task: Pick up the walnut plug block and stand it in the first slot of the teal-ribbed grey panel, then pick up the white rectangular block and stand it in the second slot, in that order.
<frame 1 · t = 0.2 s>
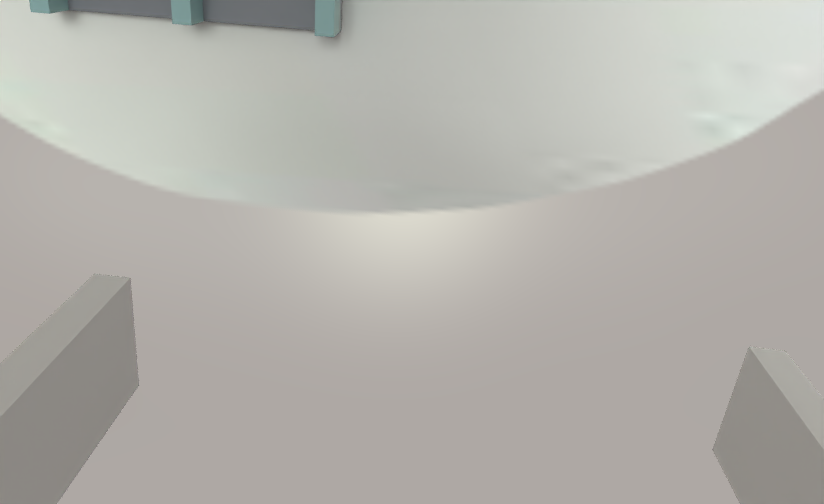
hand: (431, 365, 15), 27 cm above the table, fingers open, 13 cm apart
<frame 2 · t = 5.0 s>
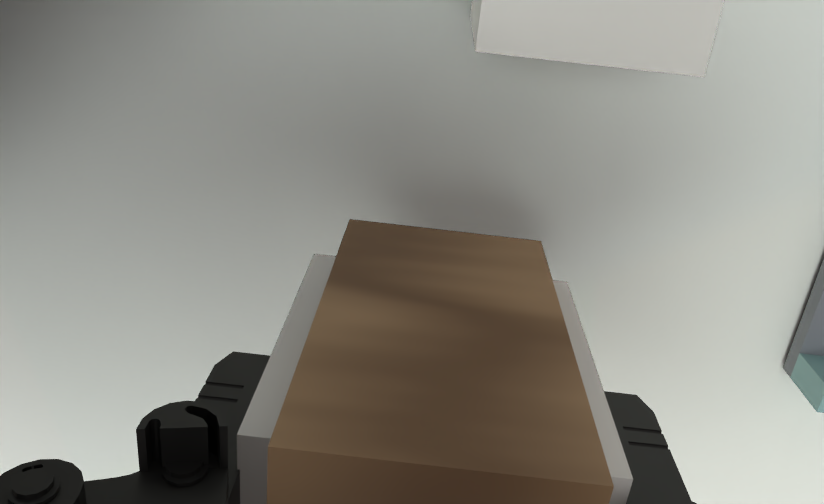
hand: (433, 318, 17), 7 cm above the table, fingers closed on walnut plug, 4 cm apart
walnut plug: (434, 313, 17), point 7 cm above the table, touching gripper
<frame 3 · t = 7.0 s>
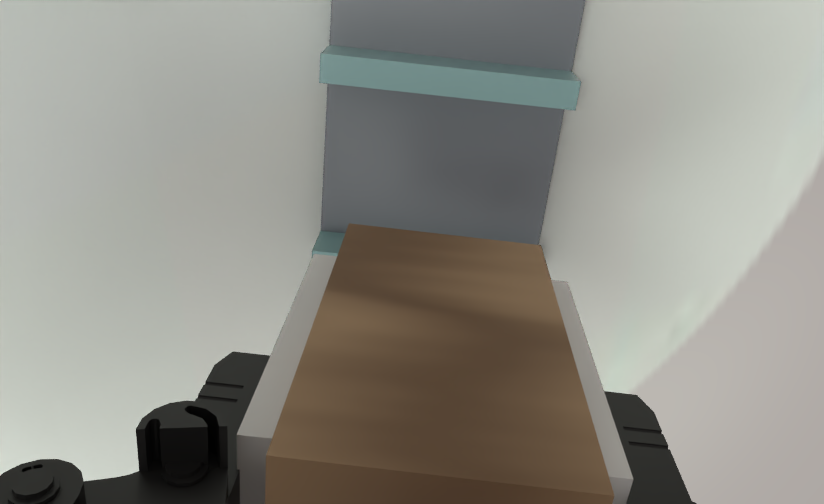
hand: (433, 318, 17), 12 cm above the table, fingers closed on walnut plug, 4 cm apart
teal-ribbed grey panel: (448, 68, 26), on the table
walnut plug: (433, 317, 17), point 12 cm above the table, touching gripper
when the fingers open (1 cm above the table, at t = 9.1 s): walnut plug stays where it is, resting on teal-ribbed grey panel.
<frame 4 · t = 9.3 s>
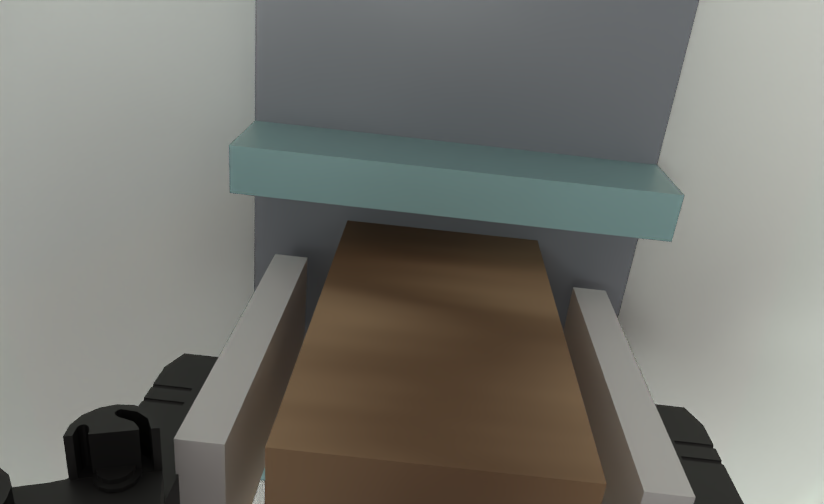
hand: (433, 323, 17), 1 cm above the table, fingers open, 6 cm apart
teal-ribbed grey panel: (452, 156, 16), on the table
walnut plug: (432, 313, 17), point 1 cm above the table, touching teal-ribbed grey panel
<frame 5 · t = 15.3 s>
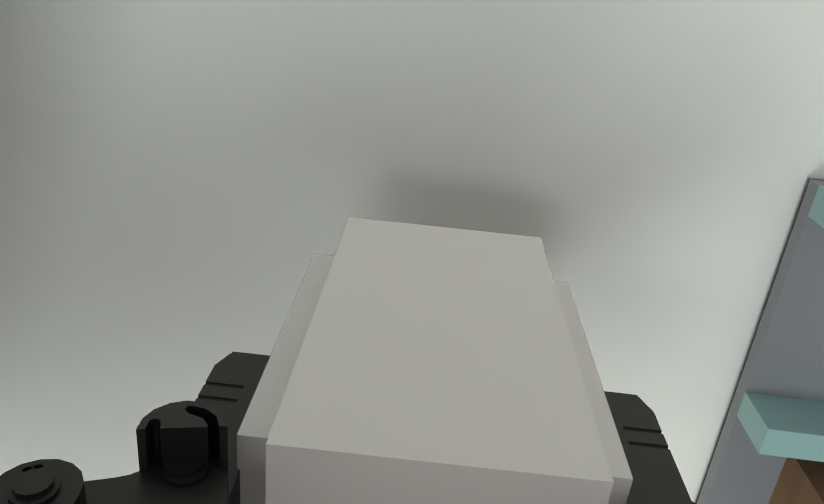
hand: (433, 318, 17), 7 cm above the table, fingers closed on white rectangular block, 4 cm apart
white rectangular block: (434, 311, 17), point 6 cm above the table, touching gripper
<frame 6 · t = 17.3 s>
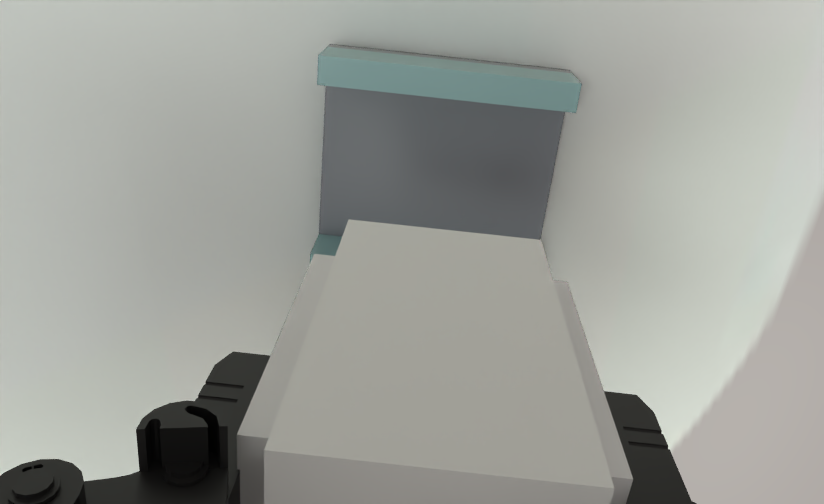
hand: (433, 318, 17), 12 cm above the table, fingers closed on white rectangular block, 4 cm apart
teal-ribbed grey panel: (426, 250, 29), on the table
white rectangular block: (434, 313, 17), point 12 cm above the table, touching gripper
when the fingers open (1 cm above the table, at t = 19.4 s): white rectangular block stays where it is, resting on teal-ribbed grey panel.
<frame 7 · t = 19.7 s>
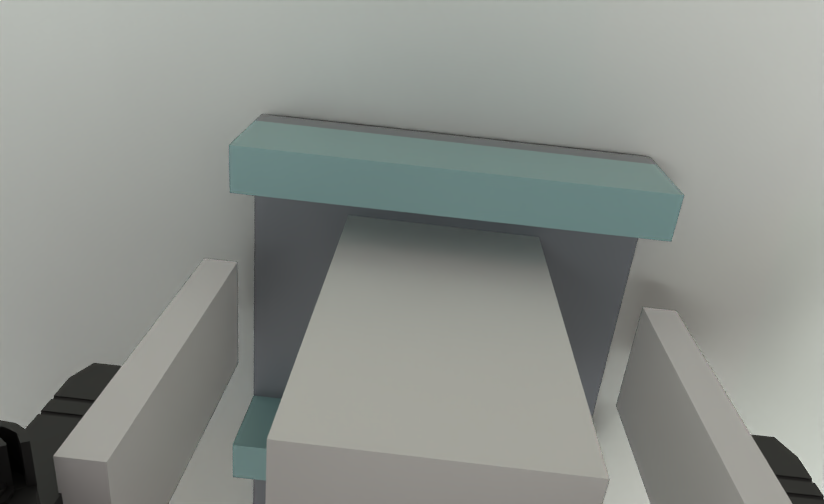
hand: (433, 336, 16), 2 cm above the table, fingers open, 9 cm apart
teal-ribbed grey panel: (419, 415, 19), on the table
white rectangular block: (432, 309, 17), point 1 cm above the table, touching teal-ribbed grey panel
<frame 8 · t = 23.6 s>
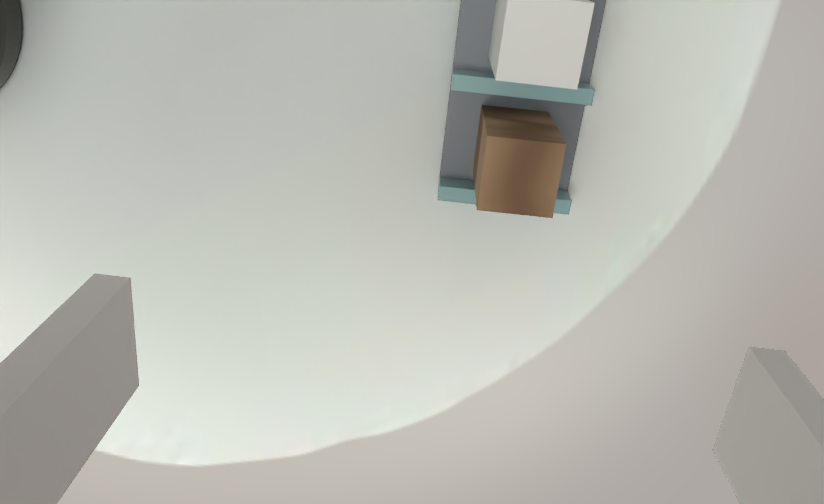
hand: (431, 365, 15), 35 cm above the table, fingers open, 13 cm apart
teal-ribbed grey panel: (518, 82, 47), on the table
walnut plug: (509, 140, 48), point 1 cm above the table, touching teal-ribbed grey panel
white rectangular block: (528, 25, 44), point 1 cm above the table, touching teal-ribbed grey panel
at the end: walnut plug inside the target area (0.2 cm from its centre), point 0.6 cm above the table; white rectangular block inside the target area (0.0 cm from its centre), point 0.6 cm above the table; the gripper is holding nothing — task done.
